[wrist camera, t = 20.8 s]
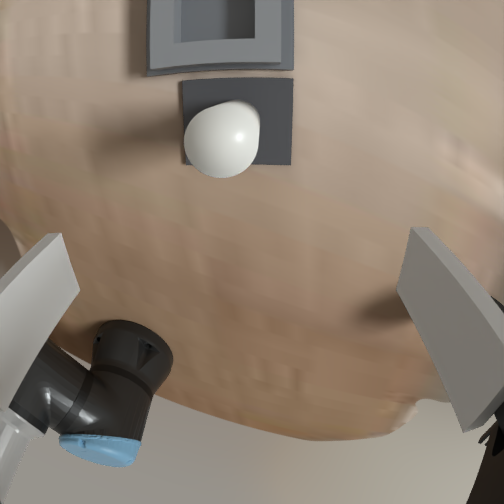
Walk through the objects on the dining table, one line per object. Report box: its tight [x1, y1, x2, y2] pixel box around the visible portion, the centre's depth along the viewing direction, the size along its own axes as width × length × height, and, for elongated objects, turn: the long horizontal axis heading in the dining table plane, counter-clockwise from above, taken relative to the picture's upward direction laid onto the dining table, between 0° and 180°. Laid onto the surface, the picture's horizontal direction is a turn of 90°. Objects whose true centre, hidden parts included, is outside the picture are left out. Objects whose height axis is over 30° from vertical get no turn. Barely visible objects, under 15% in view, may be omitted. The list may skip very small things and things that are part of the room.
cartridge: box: [184, 100, 260, 178], centre depth 25 cm, size 5×5×14 cm
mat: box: [182, 78, 293, 165], centre depth 32 cm, size 12×10×1 cm
